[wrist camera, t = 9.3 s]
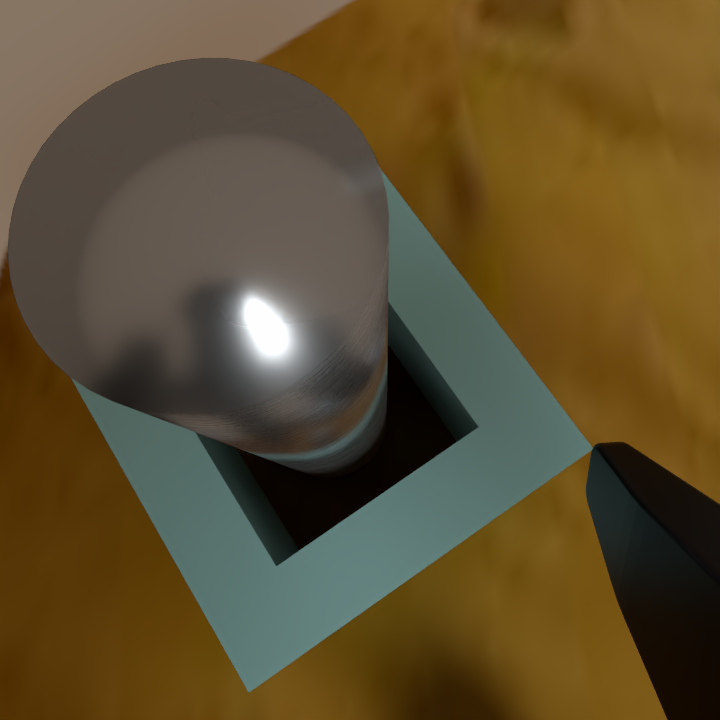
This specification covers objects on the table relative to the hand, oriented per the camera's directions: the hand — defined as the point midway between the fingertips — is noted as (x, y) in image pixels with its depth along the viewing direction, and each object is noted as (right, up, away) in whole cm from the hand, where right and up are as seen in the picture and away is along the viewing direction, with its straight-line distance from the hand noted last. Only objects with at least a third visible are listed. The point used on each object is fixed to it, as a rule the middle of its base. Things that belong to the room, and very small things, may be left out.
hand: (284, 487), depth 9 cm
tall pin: (0, 0, +9) cm, 9 cm away
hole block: (0, 0, +9) cm, 9 cm away
